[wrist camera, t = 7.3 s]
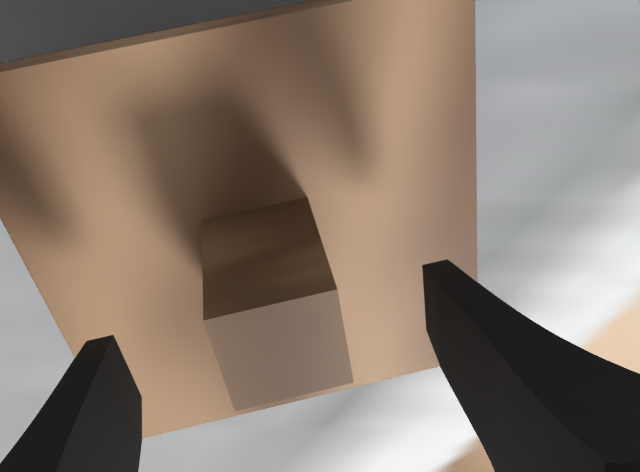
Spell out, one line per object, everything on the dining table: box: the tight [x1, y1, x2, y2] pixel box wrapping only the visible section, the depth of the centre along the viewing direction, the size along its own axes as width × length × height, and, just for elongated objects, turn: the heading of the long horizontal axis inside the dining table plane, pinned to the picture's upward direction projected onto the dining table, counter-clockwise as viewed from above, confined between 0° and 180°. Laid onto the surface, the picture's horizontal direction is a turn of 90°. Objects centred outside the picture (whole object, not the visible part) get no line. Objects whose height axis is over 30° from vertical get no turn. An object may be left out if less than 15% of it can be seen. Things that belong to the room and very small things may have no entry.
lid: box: [0, 0, 477, 438], centre depth 15 cm, size 12×12×5 cm
